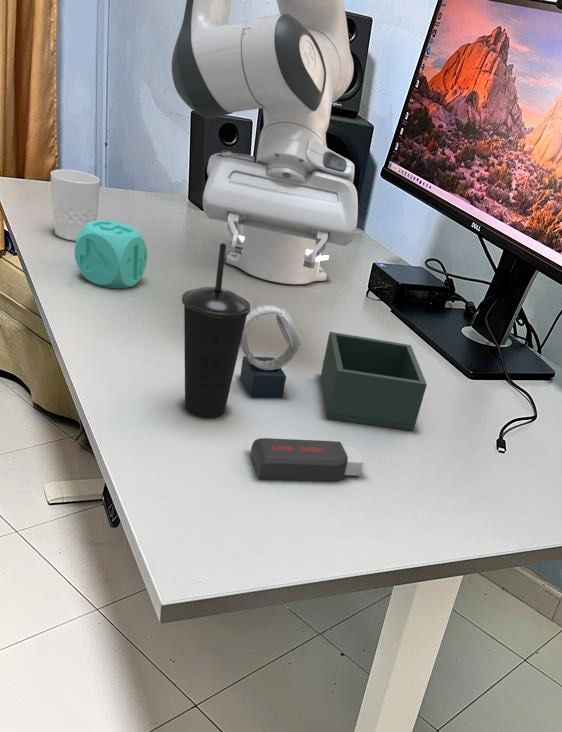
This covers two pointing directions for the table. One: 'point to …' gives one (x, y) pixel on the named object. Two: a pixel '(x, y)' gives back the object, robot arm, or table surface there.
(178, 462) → the table surface
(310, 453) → the usb drive
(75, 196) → the white cup
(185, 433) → the table surface
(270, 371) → the watch
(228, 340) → the drinking cup
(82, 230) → the decorative dice
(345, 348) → the open box
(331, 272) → the table surface
